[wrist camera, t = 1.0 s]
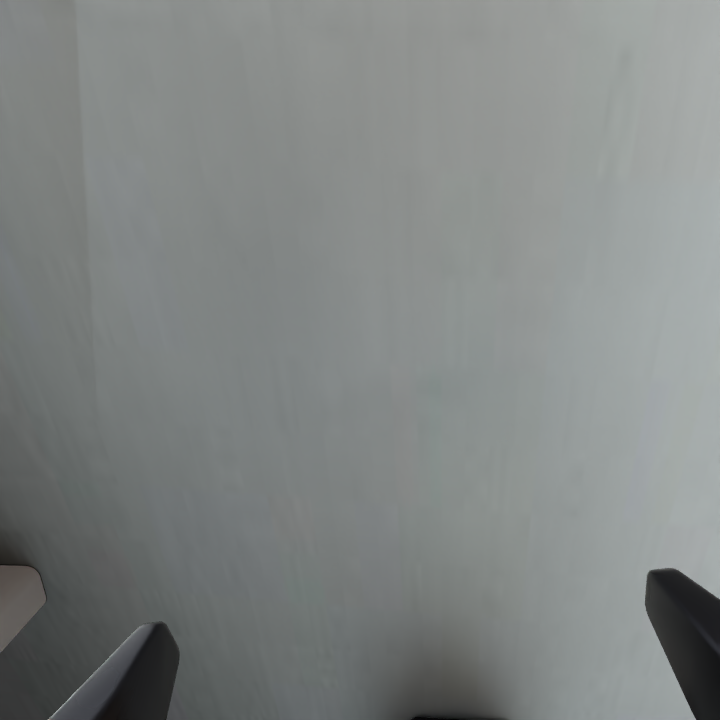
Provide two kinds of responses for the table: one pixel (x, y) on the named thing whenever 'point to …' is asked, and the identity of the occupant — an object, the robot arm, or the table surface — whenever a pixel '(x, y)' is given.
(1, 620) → the power adapter
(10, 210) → the table surface
